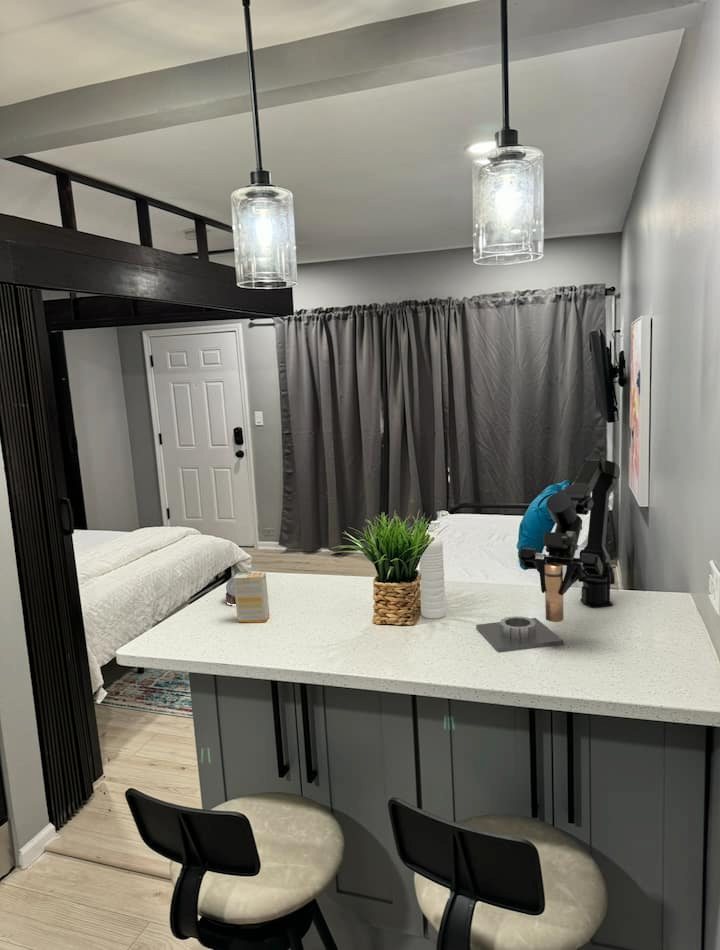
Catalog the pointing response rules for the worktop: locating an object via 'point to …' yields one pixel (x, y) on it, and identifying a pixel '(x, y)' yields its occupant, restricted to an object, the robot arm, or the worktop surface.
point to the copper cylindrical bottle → (553, 592)
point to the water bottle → (433, 577)
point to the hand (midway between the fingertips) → (551, 593)
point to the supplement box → (251, 597)
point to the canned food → (232, 589)
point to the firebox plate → (518, 643)
